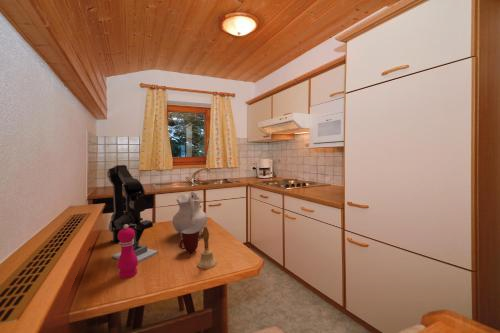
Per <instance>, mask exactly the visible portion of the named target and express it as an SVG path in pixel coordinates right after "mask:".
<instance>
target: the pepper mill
mask: <svg viewBox="0 0 500 333" xmlns="http://www.w3.org/2000/svg"><path fill="white" fill-rule="evenodd" d="M128 227H129V226H128V225H127V224H125V225H124V226H123V228H124V229H122V230H120V231H119V233H118V239H119V240H120V242H119V243H118V244H119V246H120V252H121V255H120V258H119V259H117V265H116V266H117V267H116V268H117V269H118V270H119V271H118V272H119V273H118V276H119V278H121V279H131V278H132V277H135V276H136V275H137V274H138V268H137V266H138V265H139V263H138V259H137V256H136V255H135V253H134V250H133V244H134V239H133V238H134V236H135V232H134V230H133V229H131V228H128Z"/></svg>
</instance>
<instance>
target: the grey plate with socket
mask: <svg viewBox="0 0 500 333" xmlns="http://www.w3.org/2000/svg"><path fill="white" fill-rule="evenodd" d="M133 250H134V253H135V255H136V256H137V259H138V264H139V263H141V262H143V261H145V260H148V259H149V258H151V257H153V256H155V255H157V254H159V251H158V250H155V249H151V248H148V246H147V245H142V244H139V245H138V246H133ZM120 255H121V251H119V252H117V253H114V254H112V258H114V259H117V260H119V258H120Z"/></svg>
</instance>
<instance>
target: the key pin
mask: <svg viewBox="0 0 500 333" xmlns="http://www.w3.org/2000/svg"><path fill="white" fill-rule="evenodd" d="M134 228H135V227H133V228H131V229H134ZM133 239H134V244H133V246H138V245H140V241H139V242H136V238H135V236H134V238H133Z"/></svg>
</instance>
